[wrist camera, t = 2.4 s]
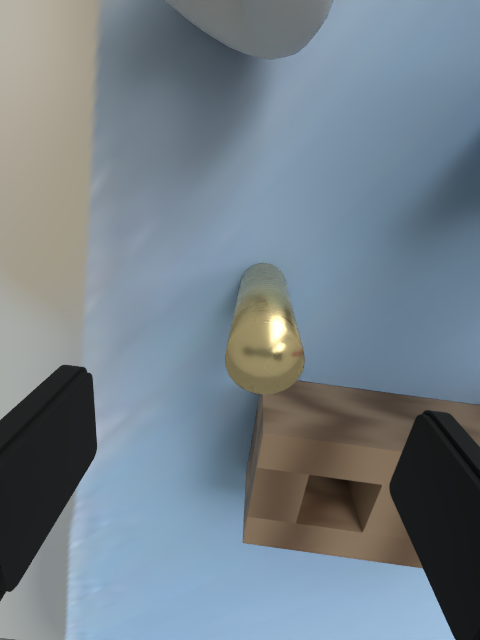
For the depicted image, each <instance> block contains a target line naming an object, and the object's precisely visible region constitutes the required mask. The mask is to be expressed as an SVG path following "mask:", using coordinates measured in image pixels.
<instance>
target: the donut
mask: <svg viewBox="0 0 480 640" xmlns="http://www.w3.org/2000/svg"><path fill="white" fill-rule="evenodd" d="M165 1H166V2H167V3H168V4H169V5H170V6H172V7H173V8H174V9H175V10H176V11H177V12H179V13H180V14H181V15H182V16H183V17H185V18H186V19H187V20H189V21H190V22H191V23H193V24H194V25H195V26H197V27H198V28H200V29H201V30H202V31H204V32H205V33H206V34H208V35H210V36H211V37H213V38H215V39H216V40H218V41H220V42H221V43H223V44H224V45H226V46H228V47H230V48H232V49H235V50H237V51H239V52H241V53H243V54H246V55H250V56H255V57H259V58H264V59H276V58H282V57H286V56H289V55H293V54H296V53H297V52H298V51H300V50H301V49H302V48H303V47H305V46H306V45H307V44H308V42H309V41H310V40H311V39H312V38H313V36H314V35H315V34H316V33H317V31H318V30H319V28H320V27H321V26H322V24H323V23H324V21H325V20H326V18H327V16H328V13H329V11H330V8H331V5H332V2H333V0H165Z"/></svg>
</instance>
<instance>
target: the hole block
mask: <svg viewBox="0 0 480 640" xmlns="http://www.w3.org/2000/svg"><path fill="white" fill-rule="evenodd" d="M426 410H431V411H439V412H447V413H450V414H451V415H452V416H453V417H454V418H455V419H456V421H457V422H458V423H459V424H460V425H461V426H462V427H463V428H464V430H465V431H466V432H467V433H468V434H469V435H470V436H471V438H472V439H473V440H474V441H475V442H476V443H477V444H478V445H479V447H480V405H474V404H467V403H460V402H452V401H445V400H437V399H430V398H422V397H415V396H408V395H400V394H393V393H385V392H378V391H370V390H363V389H355V388H348V387H341V386H333V385H326V384H318V383H311V382H303V381H296V382H295V383H294V384H293V385H292V386H290V387H289V388H287V389H285V390H283V391H281V392H278V393H274V394H260V395H259V401H258V407H257V413H256V419H255V424H254V430H253V436H252V442H251V448H250V454H249V459H248V465H247V471H246V487H245V506H244V525H243V543H247V544H254V545H261V546H268V547H275V548H282V549H290V550H297V551H304V552H311V553H318V554H325V555H332V556H339V557H347V558H354V559H361V560H368V561H375V562H382V563H389V564H396V565H403V566H411V567H418V568H423V567H422V565H421V562H420V560H419V558H418V556H417V553H416V551H415V549H414V547H413V545H412V542H411V540H410V538H409V536H408V533H407V531H406V529H405V527H404V524H403V522H402V520H401V518H400V516H399V513H398V511H397V509H396V507H395V504H394V502H393V500H392V498H391V495H390V491H389V484H390V481H391V478H392V476H393V473H394V471H395V468H396V466H397V463H398V461H399V458H400V456H401V453H402V451H403V448H404V446H405V443H406V441H407V438H408V436H409V433H410V431H411V429H412V426H413V424H414V421H415V419H416V417H417V416H418V415H420V414H422V413H423V412H424V411H426Z"/></svg>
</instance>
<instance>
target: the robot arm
mask: <svg viewBox="0 0 480 640" xmlns="http://www.w3.org/2000/svg"><path fill="white" fill-rule="evenodd" d="M96 450H97V438H96V422H95V407H94V392H93V378H92V374H91V373H87V370H86V368H84V367H79V366H70V365H62V366H60V367H59V368H58V369H57V370H56V371H55V372H53V374H51V375H50V376H49V377H48V378H47V379H46V380H45V381H43V382H42V383H41V384H40V385H39V386H38V387H37V388H36V389H35V390H33V391H32V392H31V393H30V394H29V395H28V396H27V397H26V398H25V399H24V400H22V401H21V402H20V403H19V404H18V405H17V406H16V407H14V408H13V409H12V410H11V411H10V412H9V413H8V414H7V415H6V416H4V417H3V418H2V419H1V420H0V601H1V599H2V598H3V595H4V594H5V593H6V591H8V592H11V591H12V590H13V589H14V588H15V587H16V586H17V585H18V583H19V582H20V580H21V578H22V577H23V575H24V574H25V572H26V570H27V569H28V567H29V565H30V564H31V562H32V560H33V559H34V557H35V555H36V554H37V552H38V550H39V549H40V547H41V545H42V544H43V542H44V540H45V539H46V537H47V535H48V534H49V532H50V530H51V529H52V527H53V526H54V524H55V522H56V521H57V519H58V517H59V515H60V514H61V512H62V511H63V509H64V507H65V506H66V504H67V502H68V501H69V499H70V497H71V496H72V494H73V492H74V491H75V489H76V487H77V486H78V484H79V482H80V481H81V479H82V477H83V476H84V474H85V472H86V471H87V469H88V467H89V466H90V464H91V462H92V461H93V459H94V457H95V454H96ZM389 491H390V495H391V498H392V500H393V502H394V504H395V507H396V509H397V511H398V513H399V516H400V518H401V520H402V522H403V524H404V527H405V529H406V531H407V533H408V536H409V538H410V540H411V542H412V545H413V547H414V549H415V551H416V553H417V556H418V558H419V560H420V562H421V565H422V567H423V569H424V571H425V574H426V576H427V578H428V580H429V582H430V585H431V587H432V589H433V591H434V594H435V596H436V598H437V600H438V603H439V605H440V607H441V609H442V611H443V614H444V616H445V618H446V620H447V623H448V625H449V627H450V629H451V632H452V634H453V636H454V638H455V639H456V640H480V447H479V445H478V444H477V443H476V442H475V441H474V440H473V439H472V438H471V436H470V435H469V434H468V433H467V432H466V431H465V430H464V428H463V427H462V426H461V425H460V424H459V423H458V422H457V421H456V419H455V418H454V417H453V416H452V415H451V414H450V413H447V412H439V411H431V410H426V411H424V412H423V413H422V414H420V415H418V416H417V417H416V419H415V421H414V424H413V426H412V429H411V431H410V433H409V436H408V438H407V441H406V443H405V446H404V448H403V451H402V453H401V456H400V458H399V461H398V463H397V466H396V468H395V471H394V473H393V476H392V478H391V481H390V484H389ZM0 640H13V639H3V638H0Z"/></svg>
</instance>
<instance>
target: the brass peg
mask: <svg viewBox="0 0 480 640" xmlns="http://www.w3.org/2000/svg"><path fill="white" fill-rule="evenodd" d="M304 362H305V357H304V352H303V348H302V344H301V340H300V336H299V332H298V328H297V324H296V320H295V317H294V313H293V309H292V305H291V301H290V297H289V293H288V289H287V285H286V281H285V278H284V275H283V274H282V272H281V271H280V270H279V269H278V268H277V267H275V266H273V265H271V264H267V263H260V264H256V265H253V266H252V267H250V268H249V269H248V270H247V271H246V272H245V273H244V275H243V277H242V279H241V284H240V289H239V293H238V298H237V303H236V307H235V312H234V317H233V322H232V326H231V331H230V336H229V341H228V345H227V350H226V355H225V364H226V368H227V371H228V374H229V375H230V377H231V378H232V380H233V381H234V382H235V383H236V384H237V385H239V386H240V387H241V388H243V389H245V390H247V391H249V392H252V393H257V394H274V393H278V392H281V391H283V390H285V389H287V388H289V387H290V386H292V385H293V384H294V383H295V382H296V381H297V380H298V378H299V377H300V375H301V373H302V371H303V368H304Z"/></svg>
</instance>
